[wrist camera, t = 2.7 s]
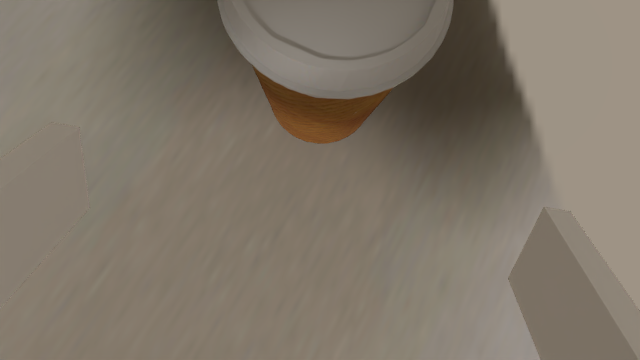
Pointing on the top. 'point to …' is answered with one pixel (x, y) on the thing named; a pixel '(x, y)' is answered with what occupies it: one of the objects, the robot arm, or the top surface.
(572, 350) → the robot arm
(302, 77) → the disposable coffee cup
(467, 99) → the top surface
